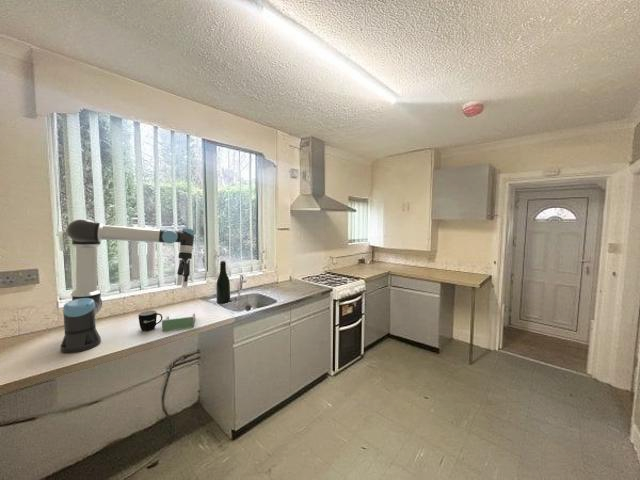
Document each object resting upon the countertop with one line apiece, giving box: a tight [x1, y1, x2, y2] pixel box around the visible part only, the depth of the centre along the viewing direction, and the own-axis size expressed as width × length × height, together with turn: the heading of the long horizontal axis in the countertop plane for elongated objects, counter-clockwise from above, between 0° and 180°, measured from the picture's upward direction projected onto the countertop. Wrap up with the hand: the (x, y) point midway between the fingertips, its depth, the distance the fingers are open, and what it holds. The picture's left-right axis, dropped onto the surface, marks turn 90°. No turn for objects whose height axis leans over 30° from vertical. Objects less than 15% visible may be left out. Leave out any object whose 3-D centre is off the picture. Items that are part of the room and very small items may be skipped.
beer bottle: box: [215, 260, 231, 304], centre depth 209 cm, size 10×10×33 cm
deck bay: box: [161, 313, 196, 332], centre depth 162 cm, size 16×16×6 cm
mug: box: [137, 309, 163, 332], centre depth 155 cm, size 12×9×10 cm
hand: (181, 286), depth 163 cm, fingers open, 13 cm apart
